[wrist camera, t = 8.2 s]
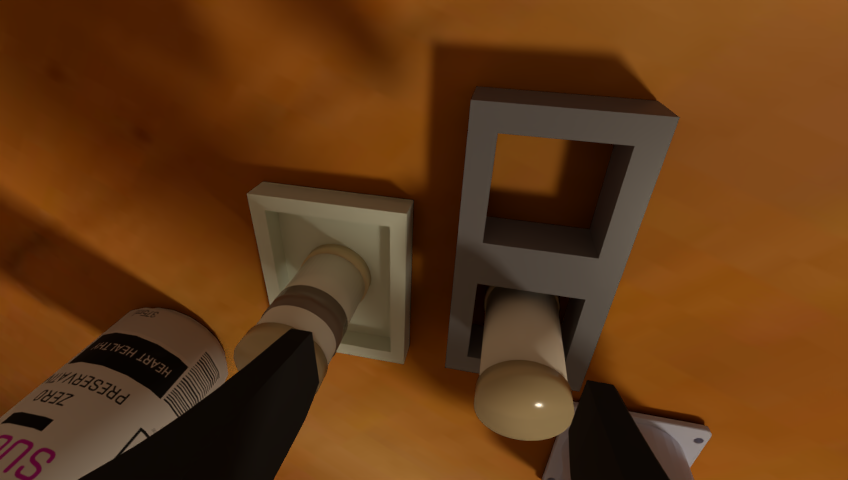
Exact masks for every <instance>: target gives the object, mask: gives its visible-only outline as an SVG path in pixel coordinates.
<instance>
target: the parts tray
mask: <svg viewBox="0 0 848 480" xmlns="http://www.w3.org/2000/svg"><path fill="white" fill-rule="evenodd" d="M247 198H248V203H249V207H250V212H251V217H252V222H253V227H254V231H255V236H256V241H257V246H258V251H259V255H260V260H261V265H262V270H263V275H264V279H265V284H266V289H267V294H268V299H269V303H270V305H271V304H272V302H273V301H274V300H275V298H276V297H277V296H278V295H279V293H280V292H281V291H282V290H284V289H285V287H286V286H287V285H288V284H289V282H290V281H291V280H292V279H293V277H294V276H295V275H296V273H297V272H298V271H299V270H300V268H301V265H302V263H303V261H304V260H305V259H306V258H307V256H308V255H309V254H310V253H311V251H312V250H313V249H315V248H316V247H318V246H320V245H324V244H338V245H342V246H345V247H347V248H350V249H351V250H353V251H355V252H356V253H357V254H359V255H360V256H361V257H362V258H363V259H364V261H365V262H366V264H367V265H368V267H369V270H370V273H371V284H370V287H369V289H368V291H367V293H366V295H365V297H364V299H363V300H362V301H361V302H360V303H359V305H358V307H357V309H356V311H355V313H354V315H353V317H352V319H351V321H350V323H349V325H348V327H347V331H346V333H345V335H344V337H343V339H342V341H341V343H340V345H339V347H338V349H337V351H336V352H339V353H345V354H350V355H356V356H361V357H367V358H372V359H378V360H383V361H389V362H394V363H400V364H404V362H405V359H406V356H407V352H408V349H409V345H410V310H411V275H412V240H413V205H414V200H410V199H401V198H393V197H385V196H377V195H369V194H360V193H352V192H344V191H336V190H327V189H319V188H311V187H303V186H295V185H286V184H278V183H270V182H262V183H260V184H259V185H258V186H256V187H255V188H253V189H252V190H251V191H249V192H248V193H247Z"/></svg>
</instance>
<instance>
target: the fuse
mask: <svg viewBox="0 0 848 480" xmlns="http://www.w3.org/2000/svg"><path fill="white" fill-rule="evenodd" d="M484 308H485V321H484V332H483V342H482V352H481V363H480V373H479V378H478V380H477V382H476V388H475V398H474V409H475V412H476V414H477V416H478V418H479V419H480V421H481V422H482V423H483V424H484V425H485V426H487V427H488V428H489V429H491V430H492V431H494V432H496V433H498V434H500V435H502V436H505V437H508V438H512V439H517V440H525V441H537V440H544V439H549V438H552V437H555V436H557V435H559V434H561V433H562V432H564V431H565V430H566V429H567V428H568V427H569V426H570V425H571V422H572V419H573V417H574V405H573V398H572V391H571V388H570V385H569V383H568V380H567V373H566V365H565V357H564V350H563V342H562V335H561V327H560V319H559V310H560V304H559V296H558V295H551V294H544V293H537V292H531V291H524V290H517V289H510V288H504V287H497V286H490V285H488V286H487V288H486V292H485V302H484Z"/></svg>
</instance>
